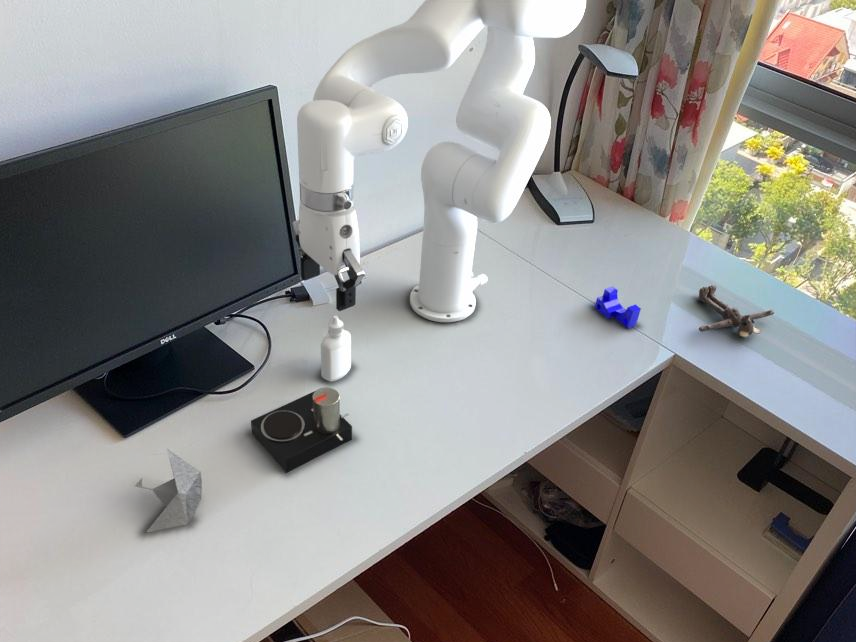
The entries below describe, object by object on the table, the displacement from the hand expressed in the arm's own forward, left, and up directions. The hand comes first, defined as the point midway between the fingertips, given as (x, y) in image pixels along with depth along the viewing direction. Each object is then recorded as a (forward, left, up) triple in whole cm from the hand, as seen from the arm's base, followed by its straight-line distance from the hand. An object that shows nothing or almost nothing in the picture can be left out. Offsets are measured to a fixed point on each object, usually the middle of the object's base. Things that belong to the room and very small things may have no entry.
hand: (327, 292), depth 125 cm
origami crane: (+34, +10, -17) cm, 39 cm away
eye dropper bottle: (-1, 0, -17) cm, 17 cm away
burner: (+14, +9, -14) cm, 22 cm away
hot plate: (+12, +10, -17) cm, 23 cm away
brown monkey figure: (-72, +30, -17) cm, 80 cm away
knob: (+9, +12, -14) cm, 21 cm away
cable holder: (-54, +17, -17) cm, 59 cm away
